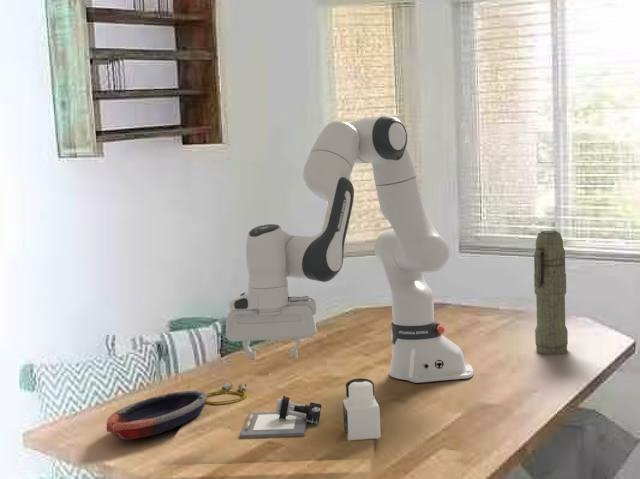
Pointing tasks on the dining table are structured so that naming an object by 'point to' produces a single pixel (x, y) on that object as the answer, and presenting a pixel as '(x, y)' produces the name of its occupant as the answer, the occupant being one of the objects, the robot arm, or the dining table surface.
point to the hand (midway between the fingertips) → (273, 358)
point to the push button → (298, 410)
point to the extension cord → (226, 387)
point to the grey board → (272, 425)
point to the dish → (156, 414)
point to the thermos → (550, 293)
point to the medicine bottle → (361, 411)
